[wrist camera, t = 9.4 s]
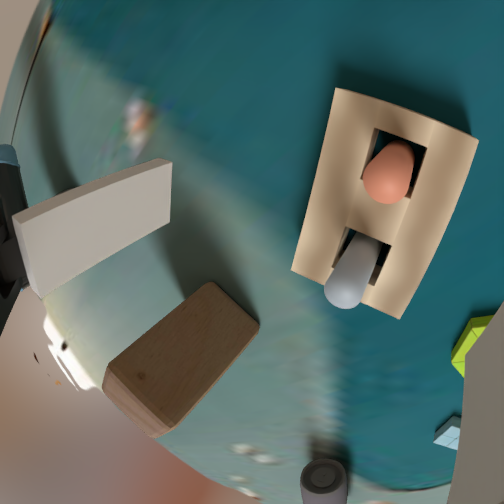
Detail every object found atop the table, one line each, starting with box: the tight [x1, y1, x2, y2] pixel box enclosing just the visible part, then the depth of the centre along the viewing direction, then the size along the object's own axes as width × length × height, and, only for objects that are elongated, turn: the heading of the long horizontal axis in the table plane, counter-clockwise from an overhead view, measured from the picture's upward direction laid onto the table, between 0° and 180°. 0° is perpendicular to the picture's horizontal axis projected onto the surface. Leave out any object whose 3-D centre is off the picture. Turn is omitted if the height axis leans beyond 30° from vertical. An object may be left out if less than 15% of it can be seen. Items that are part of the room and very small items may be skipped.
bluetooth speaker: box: [300, 458, 348, 504], centre depth 51 cm, size 23×9×10 cm, turn 12°
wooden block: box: [102, 282, 260, 439], centre depth 40 cm, size 10×10×20 cm
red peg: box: [363, 140, 415, 204], centre depth 22 cm, size 3×3×10 cm
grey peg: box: [324, 231, 383, 309], centre depth 27 cm, size 3×3×10 cm
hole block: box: [291, 88, 479, 319], centre depth 27 cm, size 12×18×4 cm, turn 169°
